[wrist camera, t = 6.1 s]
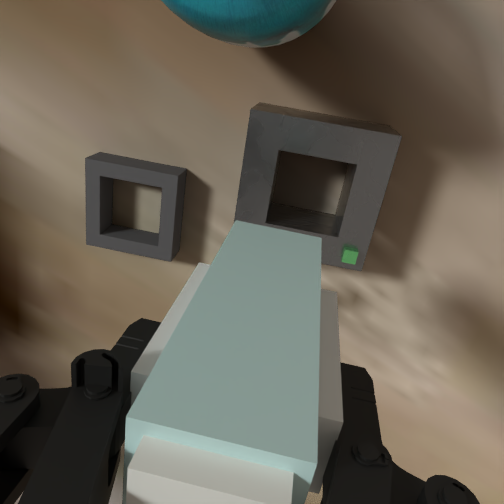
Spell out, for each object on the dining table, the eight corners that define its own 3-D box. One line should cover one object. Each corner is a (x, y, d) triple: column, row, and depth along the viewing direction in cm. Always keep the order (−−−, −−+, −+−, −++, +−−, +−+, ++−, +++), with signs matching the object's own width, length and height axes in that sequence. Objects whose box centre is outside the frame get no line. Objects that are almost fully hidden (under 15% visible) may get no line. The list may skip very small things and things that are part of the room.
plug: (224, 293, 21) (106, 568, 10) (235, 220, 20) (107, 448, 8) (303, 311, 21) (276, 616, 9) (321, 237, 19) (316, 501, 8)
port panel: (241, 222, 37) (229, 248, 32) (259, 102, 33) (249, 109, 28) (355, 245, 36) (361, 275, 31) (389, 125, 32) (403, 137, 27)
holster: (99, 233, 39) (86, 244, 37) (99, 152, 36) (85, 158, 34) (179, 250, 39) (170, 261, 36) (186, 168, 36) (178, 175, 33)
